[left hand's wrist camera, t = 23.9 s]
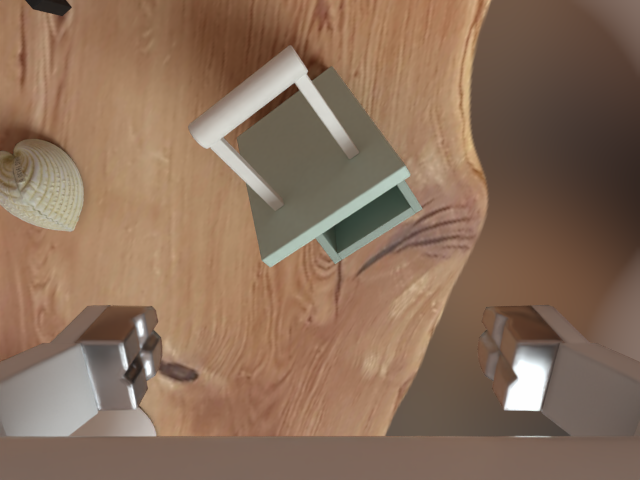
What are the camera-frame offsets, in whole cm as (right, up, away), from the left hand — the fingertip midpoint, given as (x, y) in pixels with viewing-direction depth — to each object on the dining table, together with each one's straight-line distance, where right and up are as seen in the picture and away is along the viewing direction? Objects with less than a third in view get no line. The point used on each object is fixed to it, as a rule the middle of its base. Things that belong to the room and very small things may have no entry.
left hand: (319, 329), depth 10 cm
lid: (-1, +8, +17) cm, 19 cm away
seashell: (-29, +8, +34) cm, 45 cm away
